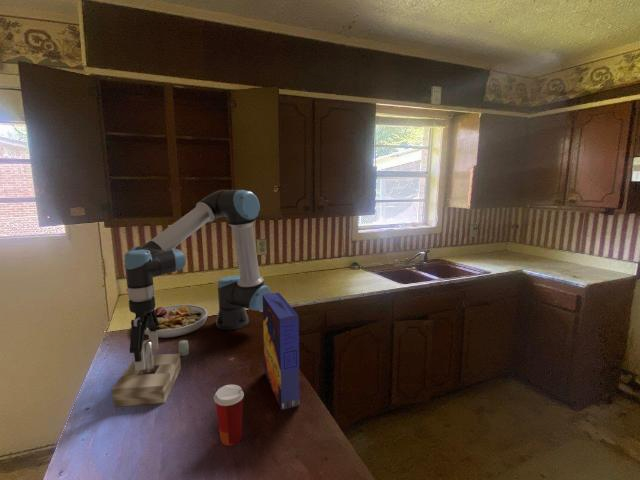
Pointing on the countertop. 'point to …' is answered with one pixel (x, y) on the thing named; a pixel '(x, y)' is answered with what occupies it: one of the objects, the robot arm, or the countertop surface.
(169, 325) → the bowl
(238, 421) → the paper cup
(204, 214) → the robot arm
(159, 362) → the hole block
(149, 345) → the long steel pin
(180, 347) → the grey-green rounded piece
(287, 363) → the cereal box
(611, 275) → the countertop surface
